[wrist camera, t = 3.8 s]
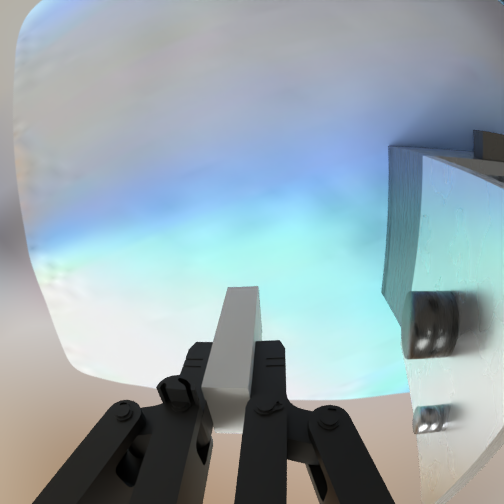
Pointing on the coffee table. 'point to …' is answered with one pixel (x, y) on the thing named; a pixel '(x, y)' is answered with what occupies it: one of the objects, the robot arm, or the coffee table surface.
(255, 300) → the robot arm
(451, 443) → the lid
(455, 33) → the coffee table surface
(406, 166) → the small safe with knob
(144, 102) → the coffee table surface
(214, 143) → the coffee table surface
